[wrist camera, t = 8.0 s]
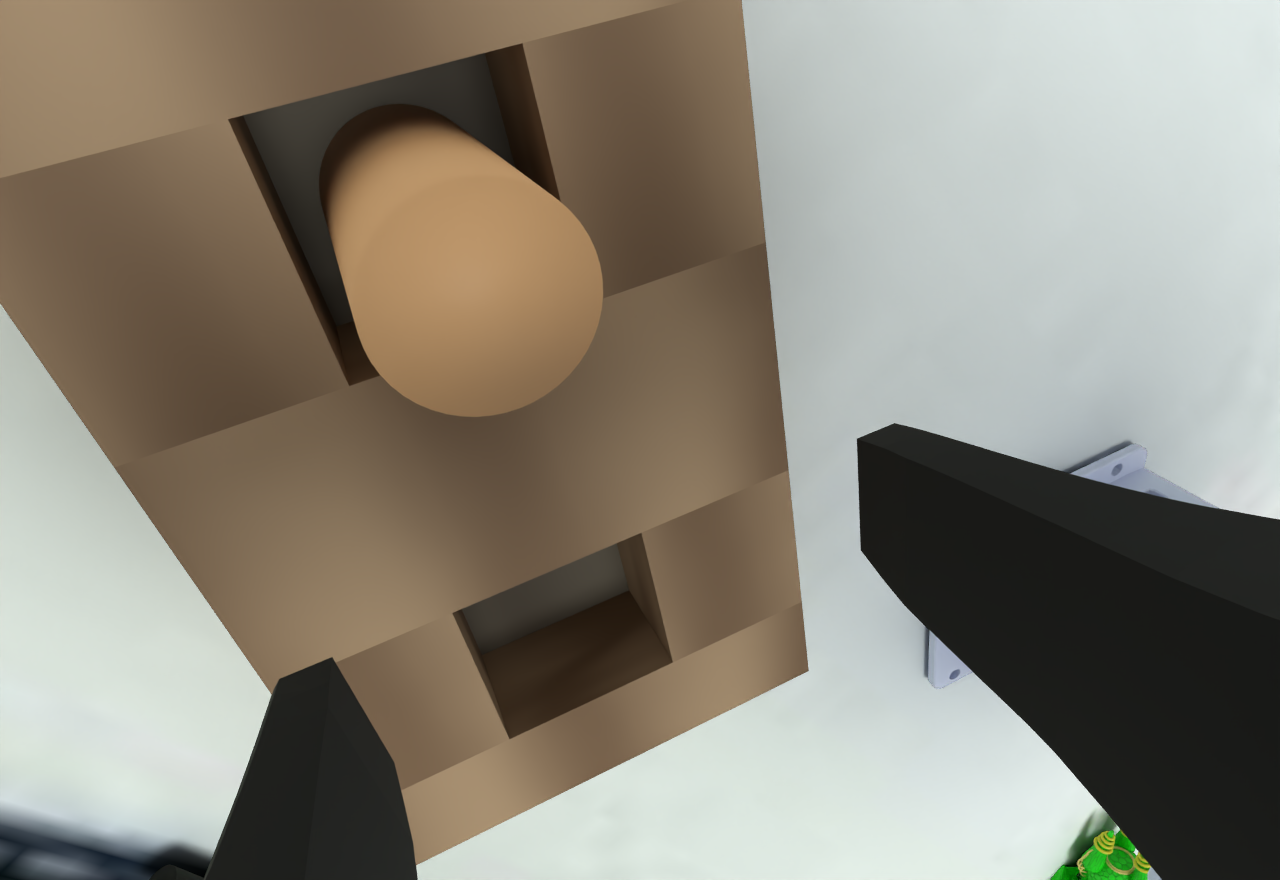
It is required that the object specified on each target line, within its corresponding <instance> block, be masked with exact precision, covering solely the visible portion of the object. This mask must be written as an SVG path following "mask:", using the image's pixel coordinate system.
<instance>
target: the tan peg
mask: <svg viewBox="0 0 1280 880" xmlns="http://www.w3.org/2000/svg"><path fill="white" fill-rule="evenodd" d="M319 194H320V200H321V205H322V209H323V213H324V216H325V220H326V223H327V227H328V230H329V234H330V237H331V241H332V244H333V248H334V252H335V255H336V259H337V262H338V266H339V269H340V273H341V276H342V280H343V283H344V287H345V290H346V294H347V297H348V301H349V304H350V308H351V312H352V315H353V319H354V322H355V326H356V329H357V333H358V335H359V338H360V341H361V344H362V346H363V349H364V351H365V352H366V354H367V356H368V358H369V360H370V362H371V363H372V365H373V366H374V367H375V369H376V370H377V371H378V373H379V374H380V375H381V376H382V377H383V378H384V379H385V380H386V382H387V383H388V384H389V385H390V386H391V387H393V388H394V389H395V390H397V391H398V392H399V393H400V394H402V395H403V396H404V397H406V398H408V399H410V400H411V401H413V402H415V403H416V404H419V405H421V406H423V407H426V408H428V409H430V410H433V411H437V412H440V413H444V414H449V415H455V416H464V417H481V416H492V415H497V414H502V413H507V412H510V411H513V410H516V409H519V408H522V407H524V406H526V405H528V404H531V403H533V402H535V401H536V400H538V399H540V398H541V397H543V396H545V395H546V394H548V393H549V392H551V391H552V390H553V389H554V388H556V387H557V386H558V385H560V384H561V383H562V382H563V381H564V380H565V379H566V378H567V377H568V376H569V375H570V374H571V373H572V371H573V370H574V369H575V368H576V367H577V365H578V364H579V363H580V361H581V360H582V358H583V357H584V355H585V354H586V352H587V350H588V348H589V346H590V344H591V342H592V340H593V338H594V336H595V333H596V330H597V327H598V324H599V320H600V315H601V311H602V302H603V278H602V272H601V266H600V262H599V259H598V256H597V253H596V250H595V247H594V245H593V243H592V241H591V239H590V237H589V235H588V233H587V232H586V230H585V229H584V227H583V225H582V224H581V223H580V221H579V220H578V219H577V218H576V217H575V215H574V214H573V213H572V212H571V211H570V210H569V209H568V208H567V207H566V206H565V205H563V204H562V203H561V202H560V201H559V200H558V199H556V198H555V197H554V196H552V195H551V194H549V193H548V192H547V191H545V190H544V189H543V188H541V187H540V186H539V185H537V184H536V183H535V182H533V181H532V180H531V179H529V178H528V177H527V176H525V175H524V174H523V173H521V172H520V171H518V170H517V169H516V168H514V167H513V166H512V165H510V164H509V163H508V162H506V161H505V160H504V159H502V158H501V157H500V156H498V155H497V154H496V153H494V152H493V151H492V150H490V149H489V148H488V147H486V146H485V145H483V144H482V143H481V142H479V141H478V140H477V139H475V138H474V137H473V136H471V135H470V134H469V133H467V132H466V131H465V130H463V129H462V128H461V127H459V126H458V125H457V124H455V123H454V122H452V121H451V120H449V119H448V118H446V117H445V116H443V115H441V114H439V113H437V112H435V111H433V110H430V109H427V108H424V107H420V106H415V105H408V104H390V105H384V106H379V107H375V108H372V109H370V110H367V111H365V112H363V113H361V114H359V115H357V116H355V117H354V118H353V119H351V120H350V121H349V122H347V123H346V124H345V125H344V126H343V127H342V128H341V129H340V130H339V131H338V132H337V133H336V135H335V136H334V138H333V139H332V140H331V142H330V144H329V146H328V148H327V149H326V151H325V154H324V157H323V160H322V163H321V168H320V173H319Z"/></svg>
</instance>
